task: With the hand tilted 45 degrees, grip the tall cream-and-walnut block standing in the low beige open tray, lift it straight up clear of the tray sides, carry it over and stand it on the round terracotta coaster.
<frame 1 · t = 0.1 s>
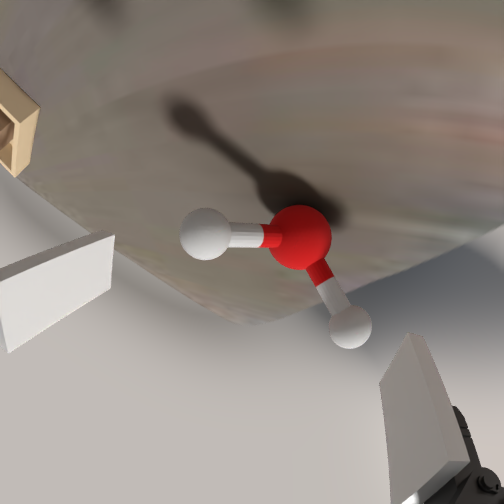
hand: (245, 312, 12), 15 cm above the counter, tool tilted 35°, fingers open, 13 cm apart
two-tone block: (8, 116, 31), resting on beige open tray
beige open tray: (10, 115, 31), on the counter
molecular model: (308, 213, 29), on the counter
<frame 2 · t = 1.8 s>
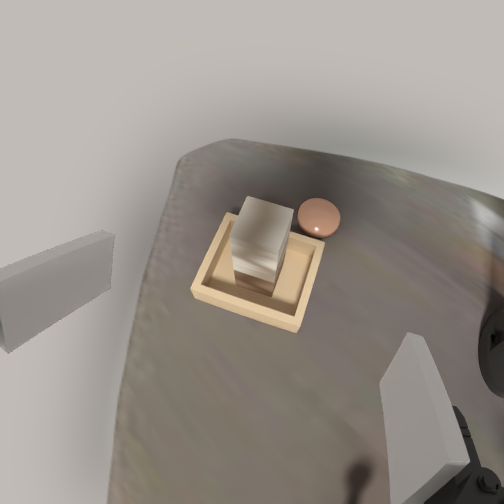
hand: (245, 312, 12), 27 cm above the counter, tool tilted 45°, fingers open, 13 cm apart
two-tone block: (259, 274, 42), resting on beige open tray
beige open tray: (259, 275, 43), on the counter
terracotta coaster: (318, 219, 47), on the counter
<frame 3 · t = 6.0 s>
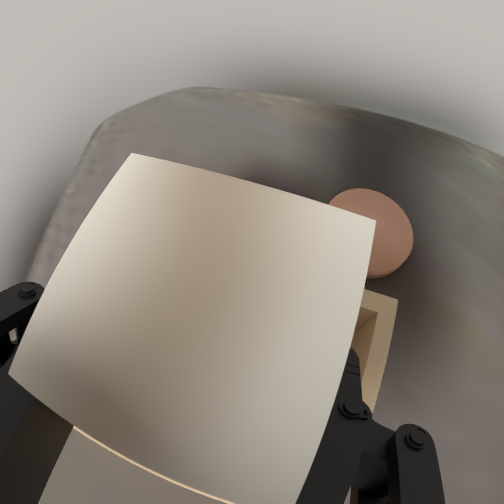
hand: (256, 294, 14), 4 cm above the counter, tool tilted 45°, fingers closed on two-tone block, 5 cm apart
two-tone block: (231, 377, 16), resting on beige open tray, touching gripper
beige open tray: (232, 378, 16), on the counter
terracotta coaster: (365, 235, 21), on the counter
when the fingers open (7 cm above the counter, at t = 11.5 s): two-tone block drops 2 cm, resting on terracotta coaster.
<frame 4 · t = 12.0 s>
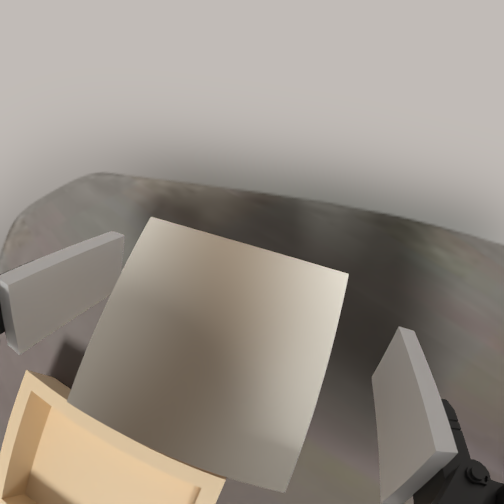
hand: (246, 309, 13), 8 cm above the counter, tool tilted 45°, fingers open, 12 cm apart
two-tone block: (235, 384, 18), point 1 cm above the counter, touching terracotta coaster
beige open tray: (104, 492, 15), on the counter
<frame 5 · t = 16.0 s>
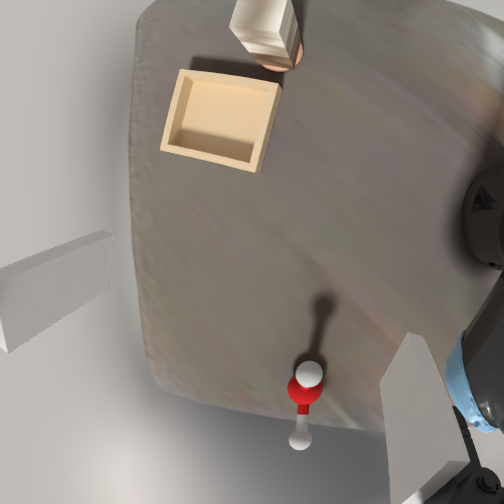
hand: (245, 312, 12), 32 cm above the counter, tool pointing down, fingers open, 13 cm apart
two-tone block: (279, 50, 36), point 1 cm above the counter, touching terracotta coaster
beige open tray: (223, 119, 41), on the counter
molecular model: (307, 377, 49), on the counter
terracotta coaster: (280, 52, 37), on the counter
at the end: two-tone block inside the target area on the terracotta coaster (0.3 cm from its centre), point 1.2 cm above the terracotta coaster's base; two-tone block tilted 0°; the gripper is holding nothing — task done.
